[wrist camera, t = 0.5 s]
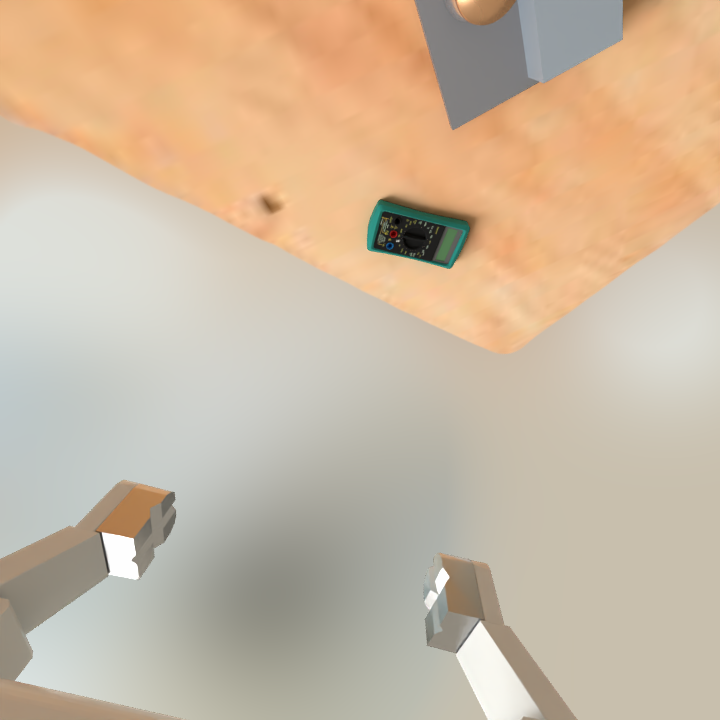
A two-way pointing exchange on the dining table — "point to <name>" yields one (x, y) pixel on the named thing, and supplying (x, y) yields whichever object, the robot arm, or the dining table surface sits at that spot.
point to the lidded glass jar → (478, 10)
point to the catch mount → (513, 48)
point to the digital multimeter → (416, 234)
